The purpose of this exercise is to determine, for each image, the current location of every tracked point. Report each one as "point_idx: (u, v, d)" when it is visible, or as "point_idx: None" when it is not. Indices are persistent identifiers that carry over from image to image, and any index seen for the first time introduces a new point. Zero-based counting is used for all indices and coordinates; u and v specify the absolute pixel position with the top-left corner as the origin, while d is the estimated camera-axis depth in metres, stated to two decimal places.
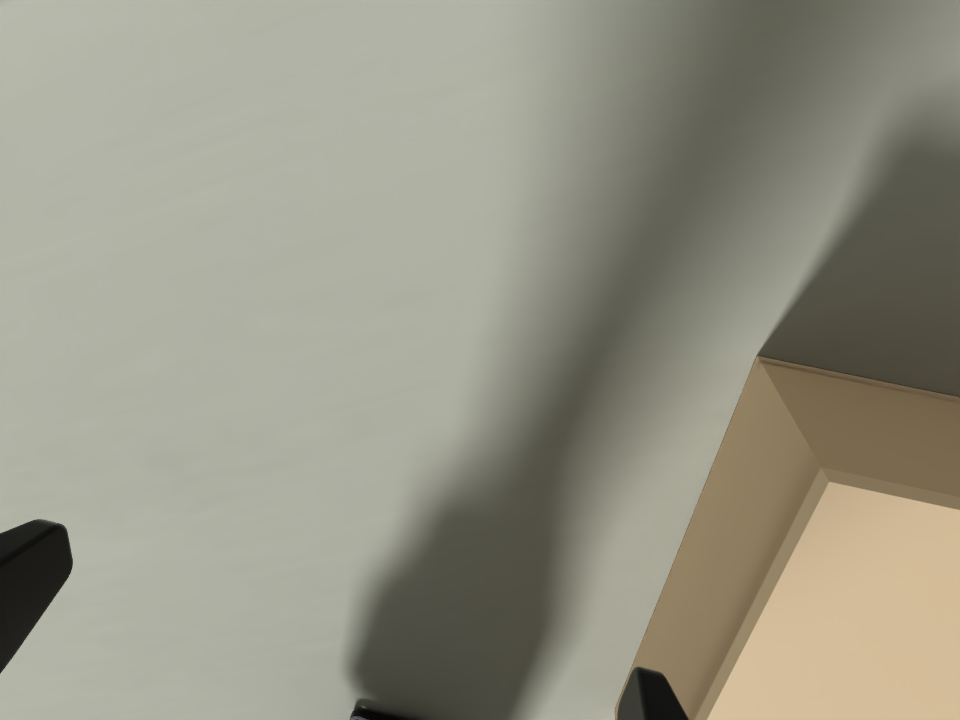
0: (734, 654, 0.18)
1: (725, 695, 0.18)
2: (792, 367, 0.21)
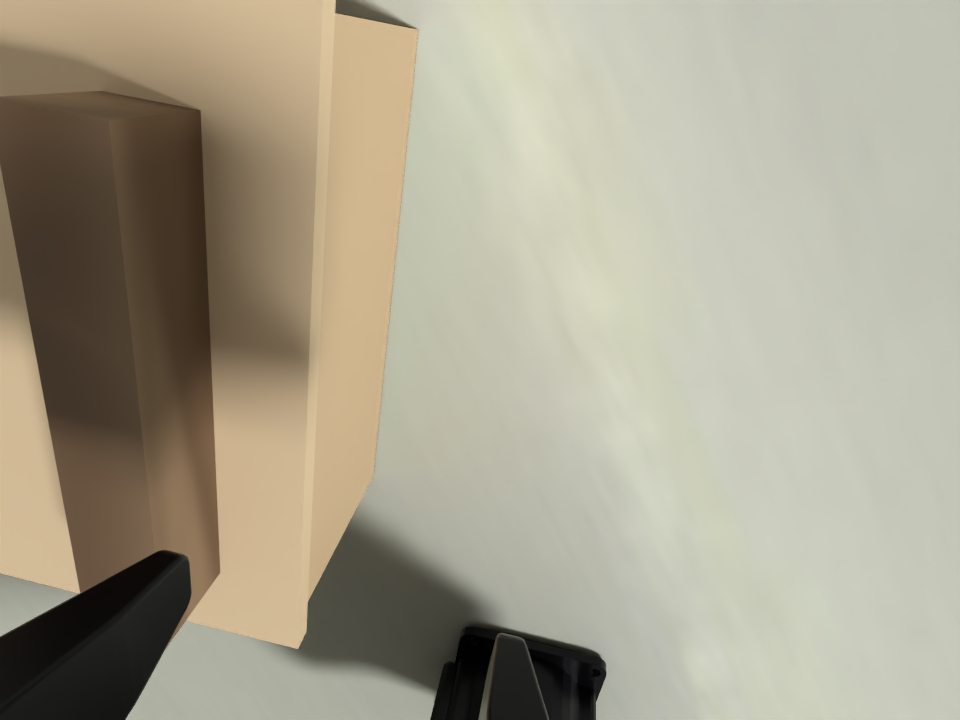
0: None
1: None
2: None
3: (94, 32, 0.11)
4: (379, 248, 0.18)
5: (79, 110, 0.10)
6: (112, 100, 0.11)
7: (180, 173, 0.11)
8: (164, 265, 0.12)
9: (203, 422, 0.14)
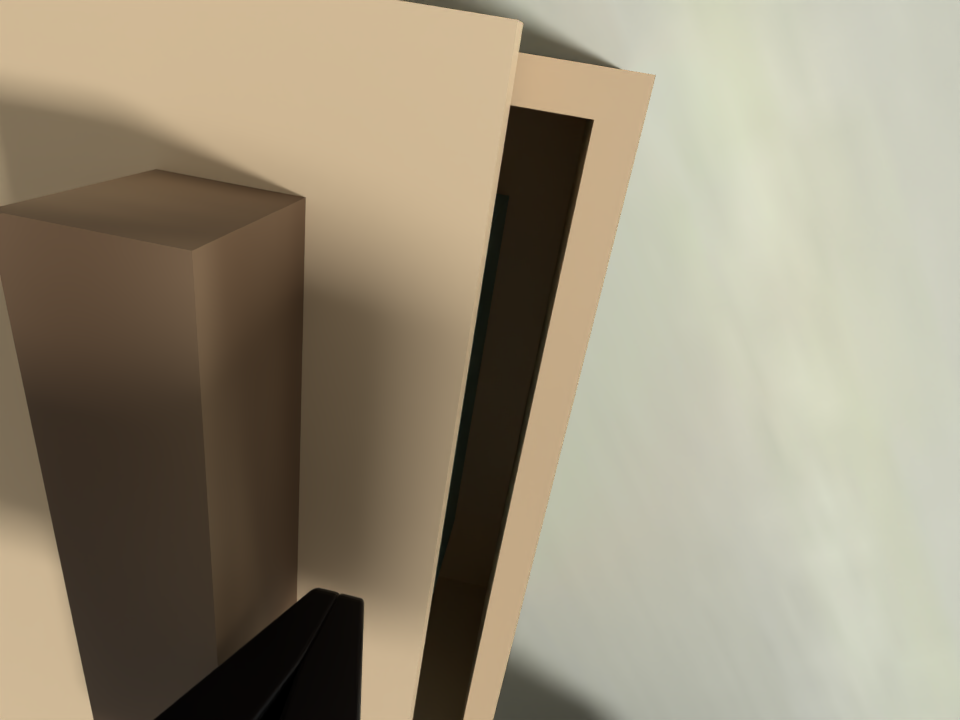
0: None
1: None
2: None
3: (148, 85, 0.07)
4: None
5: (138, 225, 0.06)
6: (179, 191, 0.07)
7: (278, 295, 0.08)
8: (254, 432, 0.08)
9: (286, 605, 0.10)
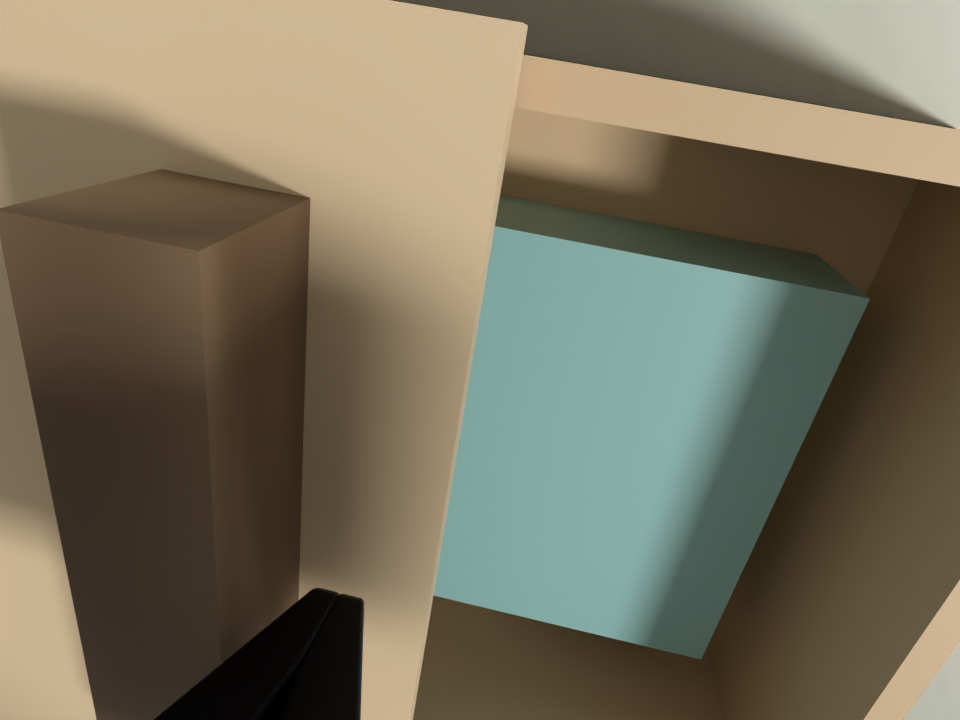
0: None
1: None
2: None
3: (153, 85, 0.07)
4: None
5: (144, 225, 0.06)
6: (184, 191, 0.07)
7: (283, 295, 0.08)
8: (258, 432, 0.08)
9: (288, 604, 0.10)
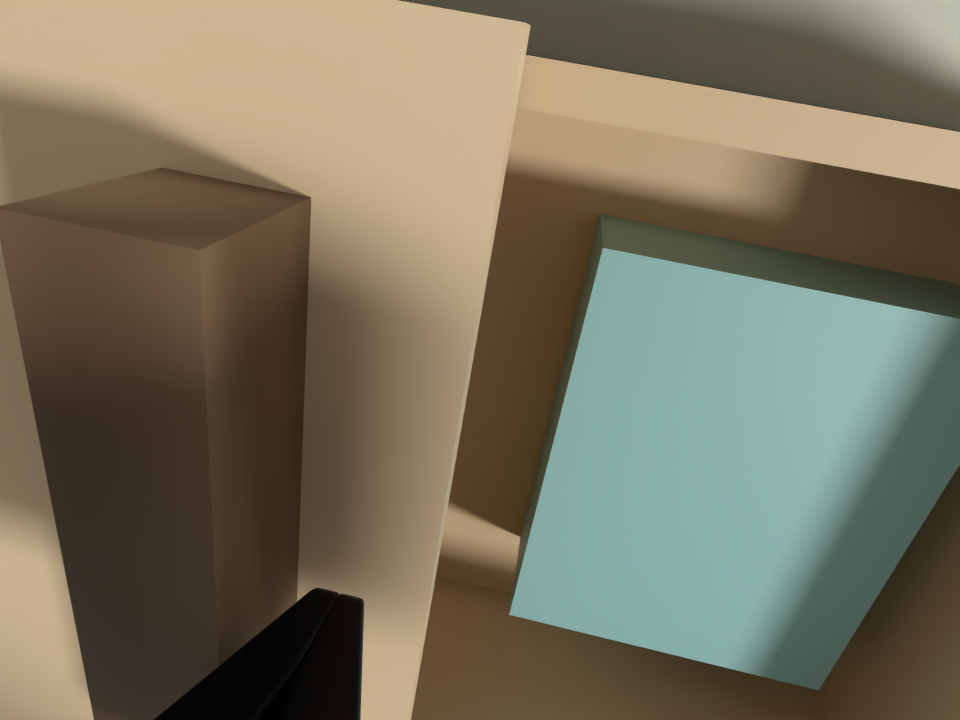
0: None
1: None
2: None
3: (155, 84, 0.07)
4: None
5: (145, 224, 0.06)
6: (185, 190, 0.07)
7: (283, 295, 0.08)
8: (258, 431, 0.08)
9: (286, 604, 0.10)
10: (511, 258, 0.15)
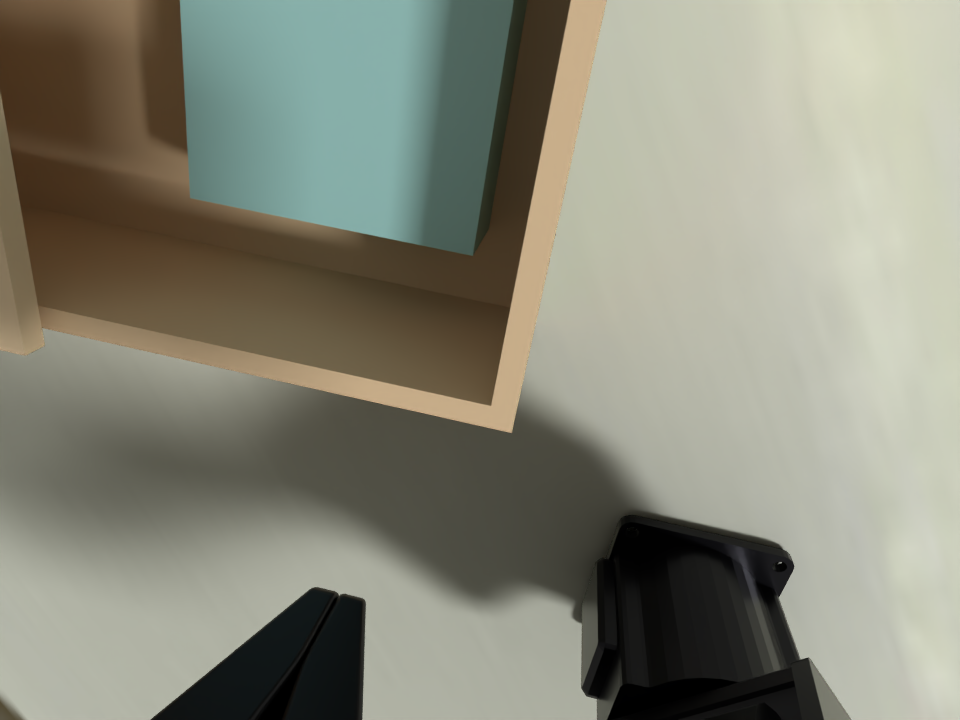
0: None
1: None
2: None
3: None
4: None
5: None
6: None
7: None
8: None
9: None
10: None
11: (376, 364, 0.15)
